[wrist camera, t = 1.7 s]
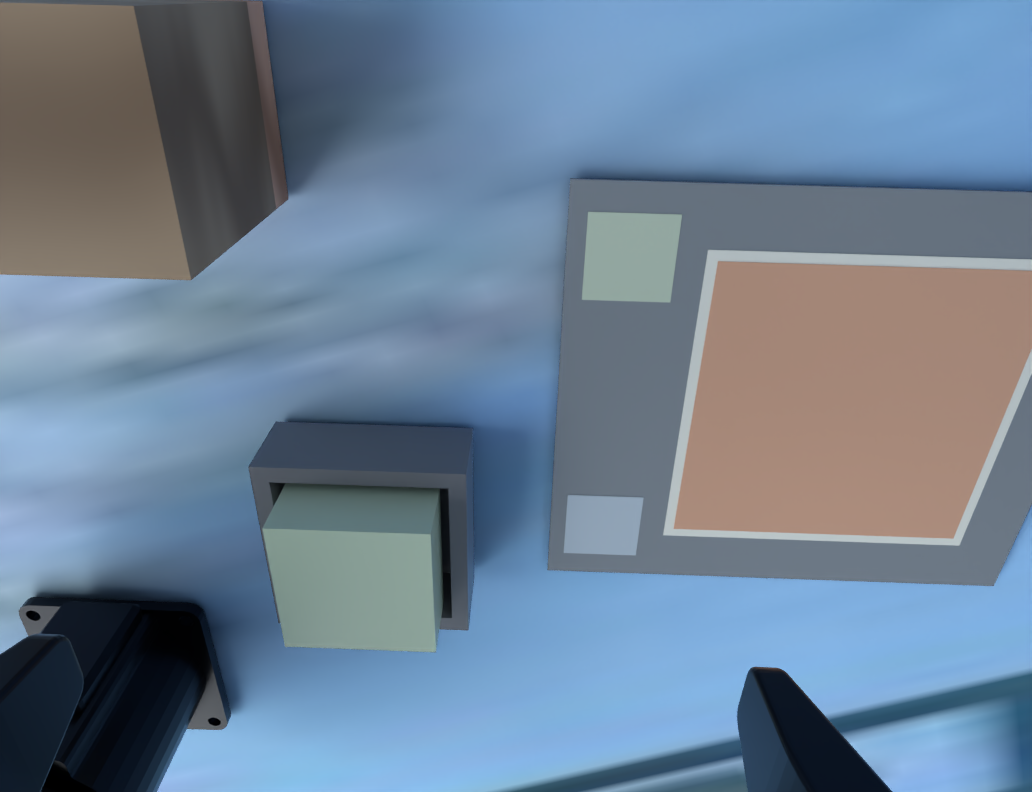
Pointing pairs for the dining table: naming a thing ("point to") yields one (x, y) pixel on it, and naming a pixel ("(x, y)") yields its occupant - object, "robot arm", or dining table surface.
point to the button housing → (382, 482)
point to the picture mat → (793, 381)
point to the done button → (357, 566)
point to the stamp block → (134, 135)
